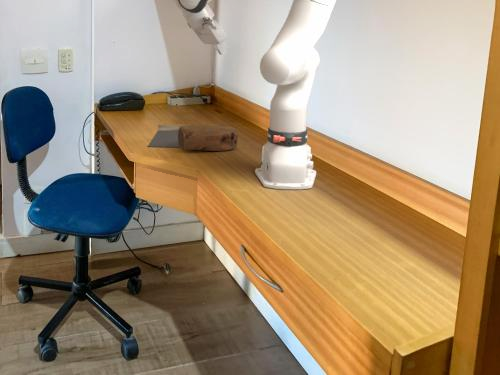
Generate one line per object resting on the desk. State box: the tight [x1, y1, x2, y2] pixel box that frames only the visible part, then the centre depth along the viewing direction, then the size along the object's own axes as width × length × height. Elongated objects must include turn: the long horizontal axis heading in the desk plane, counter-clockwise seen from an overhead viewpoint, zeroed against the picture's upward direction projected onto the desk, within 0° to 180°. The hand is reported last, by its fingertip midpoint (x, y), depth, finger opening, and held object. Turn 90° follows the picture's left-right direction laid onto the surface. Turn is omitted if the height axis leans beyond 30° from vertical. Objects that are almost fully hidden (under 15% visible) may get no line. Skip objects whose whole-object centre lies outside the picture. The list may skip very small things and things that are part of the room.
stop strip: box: [157, 124, 188, 131], centre depth 235 cm, size 2×18×2 cm, turn 90°
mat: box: [147, 130, 182, 149], centre depth 222 cm, size 24×18×1 cm
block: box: [178, 124, 239, 152], centre depth 209 cm, size 11×8×20 cm
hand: (223, 53), depth 203 cm, fingers closed
